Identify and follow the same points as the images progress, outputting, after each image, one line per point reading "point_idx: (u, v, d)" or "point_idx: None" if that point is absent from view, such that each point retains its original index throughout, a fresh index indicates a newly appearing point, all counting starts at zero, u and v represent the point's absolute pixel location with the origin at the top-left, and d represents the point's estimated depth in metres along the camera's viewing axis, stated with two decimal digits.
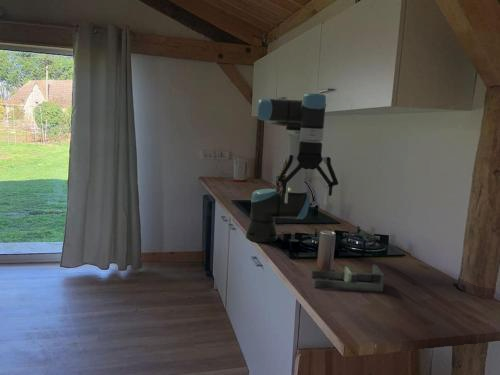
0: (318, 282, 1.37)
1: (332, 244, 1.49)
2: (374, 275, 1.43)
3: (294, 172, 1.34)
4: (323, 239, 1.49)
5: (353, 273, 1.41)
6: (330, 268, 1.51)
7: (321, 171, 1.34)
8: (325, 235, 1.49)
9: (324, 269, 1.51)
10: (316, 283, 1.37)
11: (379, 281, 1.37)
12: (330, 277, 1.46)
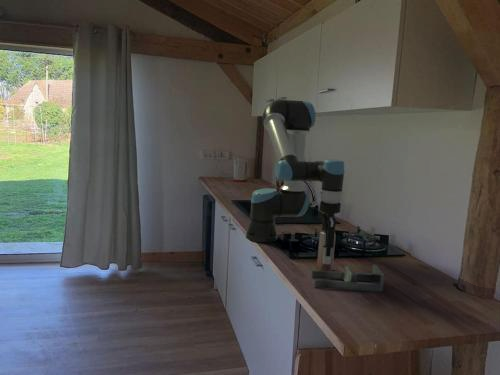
0: (318, 282, 1.37)
1: None
2: (374, 275, 1.43)
3: (323, 229, 1.54)
4: (323, 239, 1.49)
5: (353, 273, 1.41)
6: (330, 268, 1.51)
7: (326, 230, 1.48)
8: (325, 235, 1.49)
9: (324, 269, 1.51)
10: (316, 283, 1.37)
11: (379, 281, 1.37)
12: (330, 277, 1.46)
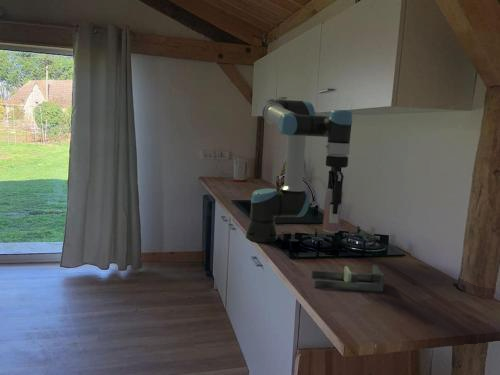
0: (318, 282, 1.37)
1: None
2: (374, 275, 1.43)
3: (329, 187, 1.44)
4: (330, 196, 1.39)
5: (353, 273, 1.41)
6: (337, 228, 1.41)
7: (332, 186, 1.38)
8: None
9: (331, 228, 1.40)
10: (316, 283, 1.37)
11: (379, 281, 1.37)
12: (330, 277, 1.46)
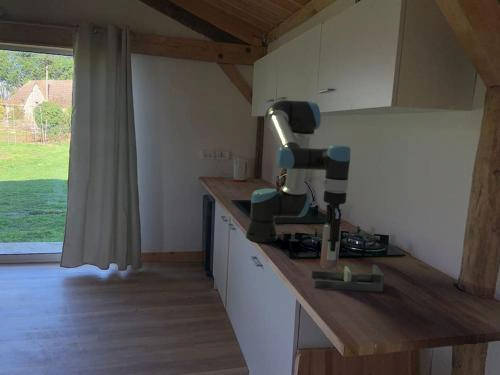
0: (318, 282, 1.37)
1: None
2: (374, 275, 1.43)
3: (327, 222, 1.41)
4: (328, 233, 1.36)
5: (353, 273, 1.41)
6: (335, 264, 1.38)
7: (330, 223, 1.35)
8: (329, 228, 1.36)
9: (328, 265, 1.38)
10: (316, 283, 1.37)
11: (379, 281, 1.37)
12: (330, 277, 1.46)
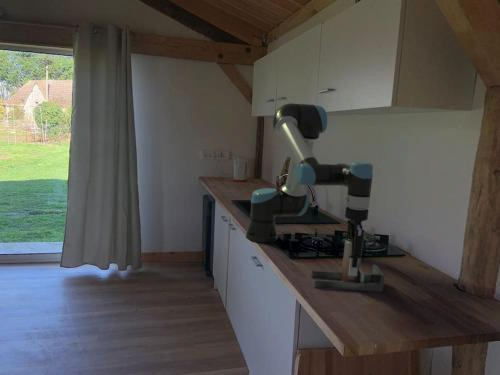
0: (318, 282, 1.37)
1: None
2: (374, 275, 1.43)
3: (348, 237, 1.42)
4: (349, 249, 1.37)
5: (365, 274, 1.41)
6: (356, 280, 1.39)
7: (352, 239, 1.36)
8: (351, 244, 1.37)
9: (350, 281, 1.39)
10: (316, 283, 1.37)
11: (379, 281, 1.37)
12: (330, 277, 1.46)
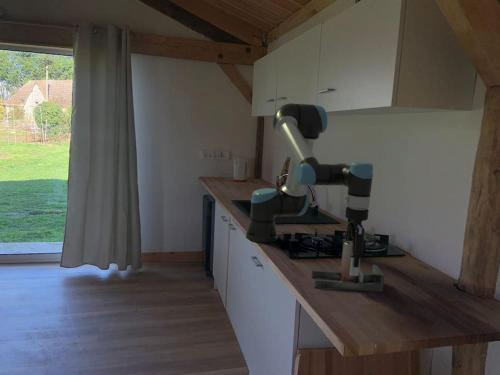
0: (318, 282, 1.37)
1: None
2: (374, 275, 1.43)
3: (348, 235, 1.43)
4: (348, 251, 1.37)
5: (364, 274, 1.41)
6: None
7: (353, 239, 1.36)
8: (350, 246, 1.37)
9: None
10: (316, 283, 1.37)
11: (379, 281, 1.37)
12: (330, 277, 1.46)
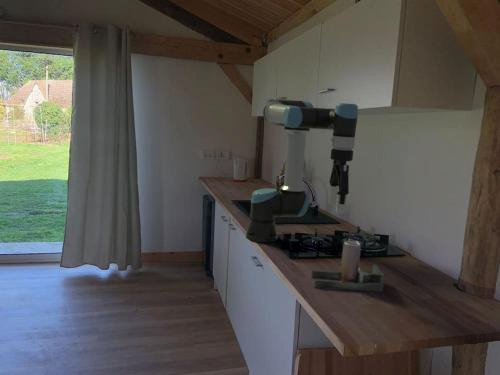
0: (318, 282, 1.37)
1: (357, 256, 1.38)
2: (374, 275, 1.43)
3: (333, 176, 1.46)
4: (348, 251, 1.37)
5: (364, 274, 1.41)
6: None
7: (338, 178, 1.37)
8: (350, 246, 1.37)
9: None
10: (316, 283, 1.37)
11: (379, 281, 1.37)
12: (330, 277, 1.46)
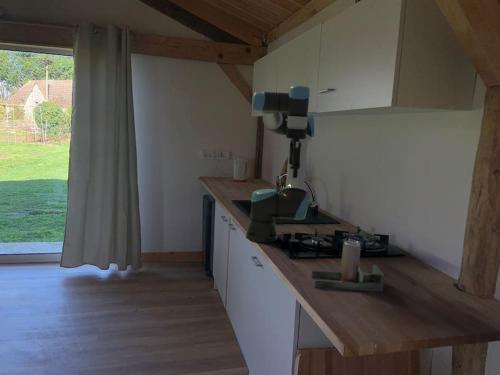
0: (318, 282, 1.37)
1: (357, 256, 1.38)
2: (374, 275, 1.43)
3: (290, 154, 1.58)
4: (348, 251, 1.37)
5: (364, 274, 1.41)
6: None
7: (292, 154, 1.49)
8: (350, 246, 1.37)
9: None
10: (316, 283, 1.37)
11: (379, 281, 1.37)
12: (330, 277, 1.46)
